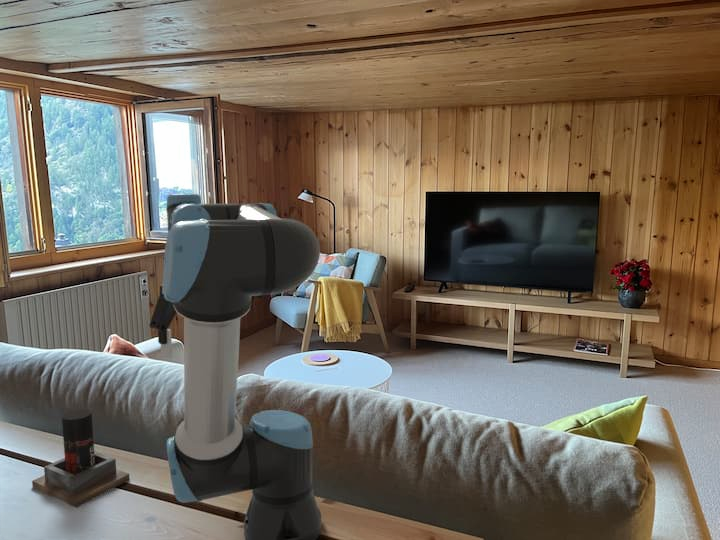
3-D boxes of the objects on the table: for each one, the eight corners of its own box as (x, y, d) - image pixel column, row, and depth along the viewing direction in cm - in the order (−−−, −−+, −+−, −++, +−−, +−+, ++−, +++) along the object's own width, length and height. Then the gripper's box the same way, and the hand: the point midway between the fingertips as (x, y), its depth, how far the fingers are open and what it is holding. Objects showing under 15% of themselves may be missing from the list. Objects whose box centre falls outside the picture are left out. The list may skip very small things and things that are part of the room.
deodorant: (69, 472, 126) (64, 410, 124) (97, 469, 128) (93, 407, 126) (64, 485, 120) (59, 421, 118) (93, 481, 122) (89, 418, 120)
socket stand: (129, 479, 126) (128, 459, 125) (76, 507, 115) (74, 485, 114) (86, 462, 134) (85, 443, 133) (32, 487, 123) (30, 466, 122)
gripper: (213, 254, 139) (215, 335, 142) (129, 265, 118) (134, 361, 121) (235, 256, 136) (237, 339, 139) (153, 268, 114) (157, 366, 117)
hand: (189, 349), depth 130 cm, fingers open, 13 cm apart
